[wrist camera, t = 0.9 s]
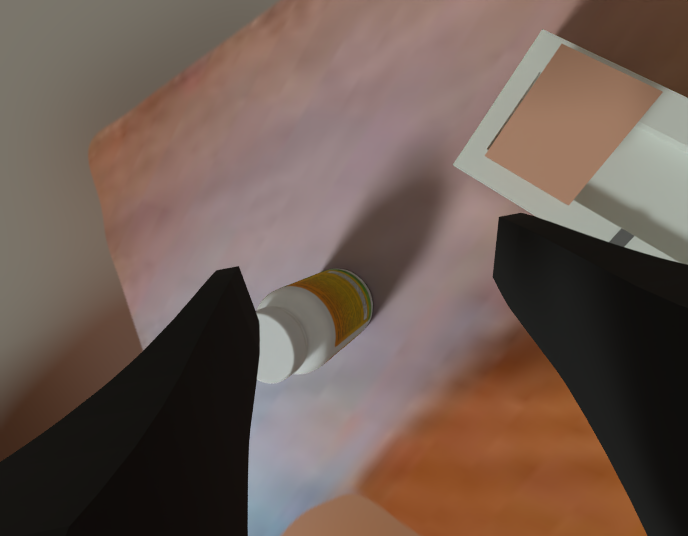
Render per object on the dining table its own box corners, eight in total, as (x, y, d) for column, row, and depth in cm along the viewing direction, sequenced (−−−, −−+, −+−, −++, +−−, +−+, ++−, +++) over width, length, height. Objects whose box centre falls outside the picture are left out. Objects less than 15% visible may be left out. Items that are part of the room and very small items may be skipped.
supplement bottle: (327, 253, 28) (241, 279, 20) (387, 292, 27) (322, 339, 18) (300, 310, 30) (211, 356, 22) (354, 349, 29) (282, 416, 20)
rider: (634, 113, 17) (662, 91, 14) (560, 203, 19) (568, 205, 15) (554, 73, 18) (561, 43, 15) (491, 162, 20) (484, 155, 16)
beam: (906, 220, 16) (1006, 227, 13) (740, 352, 19) (785, 385, 16) (545, 45, 20) (550, 16, 17) (457, 176, 23) (446, 173, 20)
